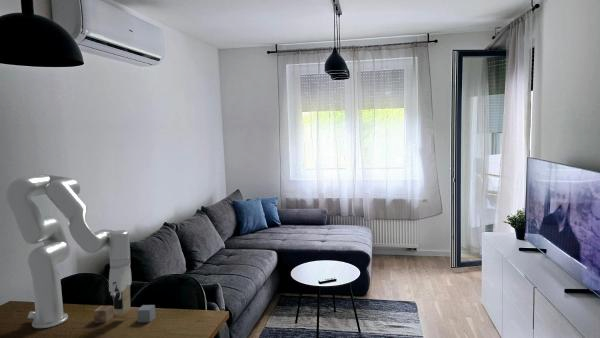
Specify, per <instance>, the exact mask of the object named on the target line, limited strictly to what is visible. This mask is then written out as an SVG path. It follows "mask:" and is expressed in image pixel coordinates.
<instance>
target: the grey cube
mask: <svg viewBox="0 0 600 338" xmlns="http://www.w3.org/2000/svg"><path fill="white" fill-rule="evenodd" d="M156 316H157V315H156V305H155V304H142V305H141V306H140V307H139V308H138V309H137V323H151V322H152V321H153V320H154V319H155V318H156Z"/></svg>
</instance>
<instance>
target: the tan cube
mask: <svg viewBox="0 0 600 338" xmlns="http://www.w3.org/2000/svg"><path fill="white" fill-rule="evenodd" d="M113 318H114V308H113V305H100V306H99V307H97V308H96V309H95V310H93V320H94V323H95V324H104V323H105V324H107V323H108V322H110V321H111V320H112V319H113Z"/></svg>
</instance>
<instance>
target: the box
mask: <svg viewBox="0 0 600 338" xmlns="http://www.w3.org/2000/svg"><path fill="white" fill-rule="evenodd" d="M116 291H119V290H116ZM116 294H117V295H118V296H119V293H116ZM121 299H122V306H123V308H122V309H114V308H113V314H119V315H120V314H121V315H124V314H126V313H127V312H129V311H130V310H131V285H130V283H129V284H128V285H127V286H126V288H125V290H123V291H122V295H121Z"/></svg>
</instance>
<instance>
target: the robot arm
mask: <svg viewBox="0 0 600 338" xmlns="http://www.w3.org/2000/svg"><path fill="white" fill-rule="evenodd" d="M80 191H81V186H80V184H79V182H78V181H77V180H76V179H75V178H72V177H68V176H67V177H65V176H59V175H52V174H42V173H41V174H33V175H26V176H21V177H18V178H16V179H14V180H12V181H11V182H10V184H9V185H7V188H6V190H5V199H6V202H7V204H8V206H9V208H10V210H11V212H12V214H13V216H14V219H15V221H16V225H17V226H18V230H19V232H20V233H21V236H22V239H23V241H24V242H25V243H26V244H29V245H36V244H40V243H43V244H42V245H39V246H37V247H36V248H34V249H32V250H31V252H30V253H29V254H28V256H27V265H28V267H29V271H30V274H31V279H32V280H31V281H32V289H33V299H34V310H35V311H33V310H32V311H29V313H28V315H27V318H28V319H33V321H32V323H31V326H32V327H33V328H34V329H47V328H52V327H55V326H58V325H61V324H62V323H65V322H66V321H67V320H68V319H69V315H68V313H66V312H64V306H63V305H64V304H63V303H64V302H63V295H62V284H61V282H62V281H61V275H60V272H59V270H58V269H57V266H56V265H58V264H60V263H63V262H64V261H66V260H67V259H68V258H69V257H70V254H71V247H70V244H69V241H68V239H67V237H66V234H65V232H64V228H63V225H62V224H61V223H60V221H59V220H58V219H57V218H56V217H53V216H49V215H47V216H42V214H41V212H40V209H39V207H38V206H37V204H36V203H35V202H34V201H33V200H32V197H37V196H43V195H46V196H47V198H48V199H49V200H50V202H51V203H52V204H53V205H54V206H55V207H56V208H57V209H58V211H60V213H62V215H63V217H65V219H66V221H67V226H68V230H69V233H70V236H71V237H72V239H73V240H74V242H75V243H76V244H77V245H78V246H79V247H80V249H81V250H83V251H84V252H86V253H87V254H91V255H92V254H97V253H100V252H102V250H105V249H107V248H108V249H109V250H108V251H109V267H110V268H109V273H108V292H109V293H110V294H109V295H110V296H111V297H112V300H113V310H114V309H122V308H123V306H122V299H121V295H122V291H123V290H125V288H126V286H127V285H128V284H129V283H130V286H131V285H132V282H133V281H132V271H131V270H132V269H131V248H130V247H131V244H130V241H131V240H130V233H129V231H127V230H123V229H121V230H120V229H119V230H112V229H105V228H104V229H100V230H98V231H95V232H93V230H91V228H90V227H89V226H88V224H87V222H86V219H85V218H86V217H85V216H86V212H87V210H88V205H87V204H86V203H85V202H84V201H83V200H82V199H81V197H79V193H80ZM116 290H119V291H116ZM116 293H119V296H118V295H117V294H116Z"/></svg>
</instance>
